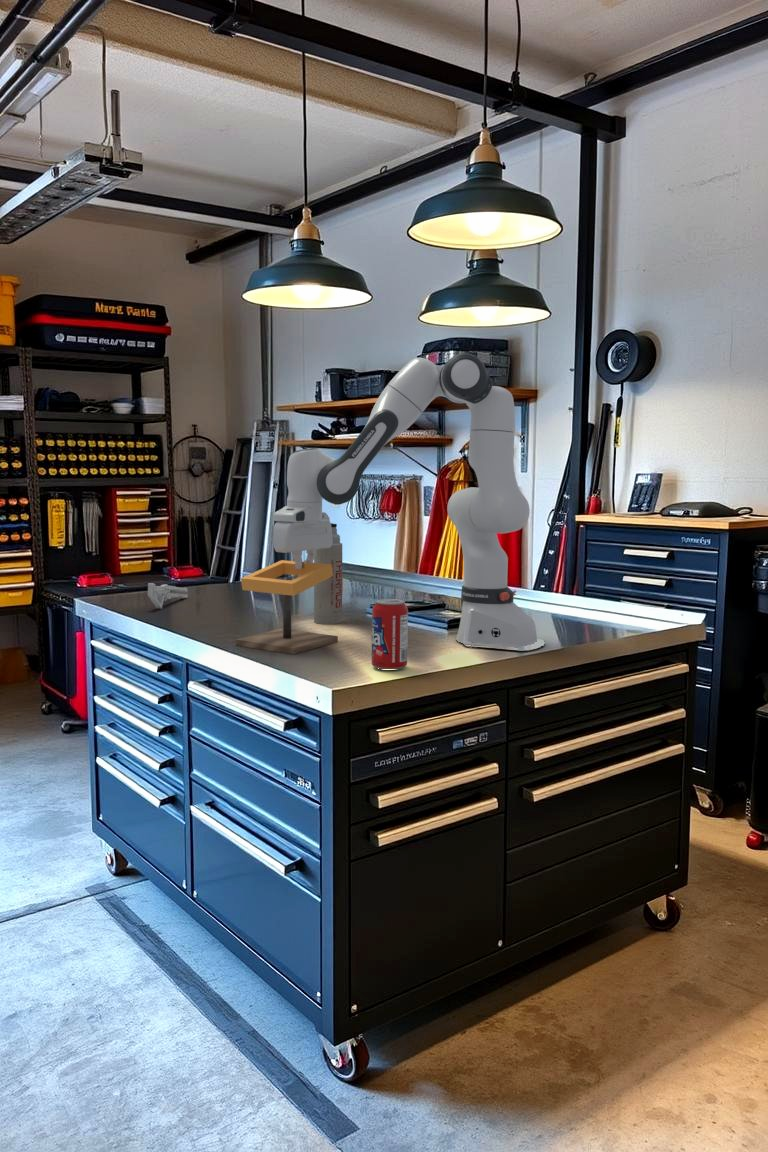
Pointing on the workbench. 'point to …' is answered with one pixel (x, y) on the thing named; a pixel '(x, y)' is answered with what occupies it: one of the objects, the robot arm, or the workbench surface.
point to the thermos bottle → (329, 584)
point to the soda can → (389, 634)
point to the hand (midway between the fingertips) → (304, 568)
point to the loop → (268, 583)
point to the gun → (164, 593)
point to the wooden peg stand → (286, 636)
